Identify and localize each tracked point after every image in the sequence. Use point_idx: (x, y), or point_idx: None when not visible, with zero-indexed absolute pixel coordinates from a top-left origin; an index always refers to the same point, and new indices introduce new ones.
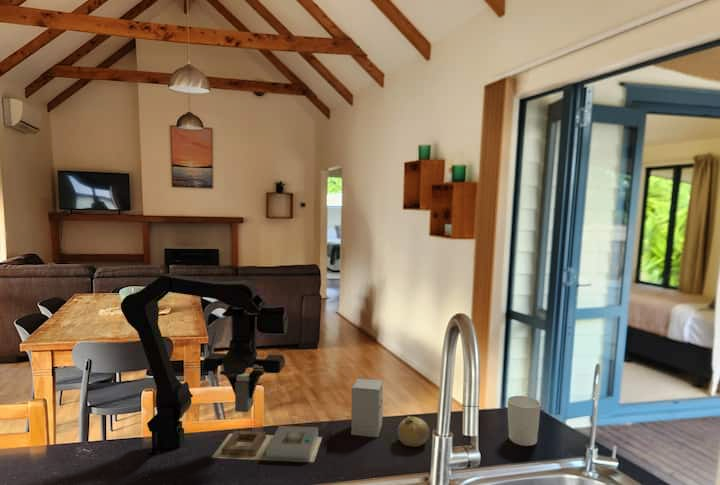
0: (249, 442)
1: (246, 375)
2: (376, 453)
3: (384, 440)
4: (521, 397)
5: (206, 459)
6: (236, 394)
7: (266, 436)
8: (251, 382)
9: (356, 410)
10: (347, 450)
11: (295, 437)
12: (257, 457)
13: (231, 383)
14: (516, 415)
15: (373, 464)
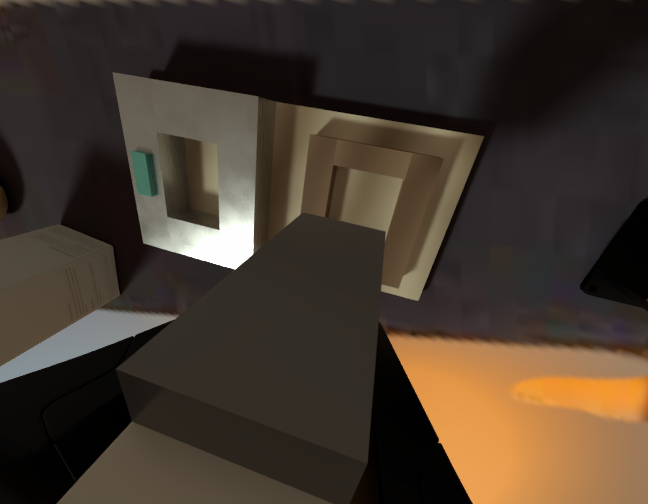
0: None
1: None
2: (35, 146)
3: (44, 208)
4: None
5: (498, 157)
6: (364, 294)
7: None
8: (98, 386)
9: (23, 269)
10: (97, 170)
11: (206, 218)
12: (308, 123)
13: (446, 484)
14: None
15: (19, 86)
